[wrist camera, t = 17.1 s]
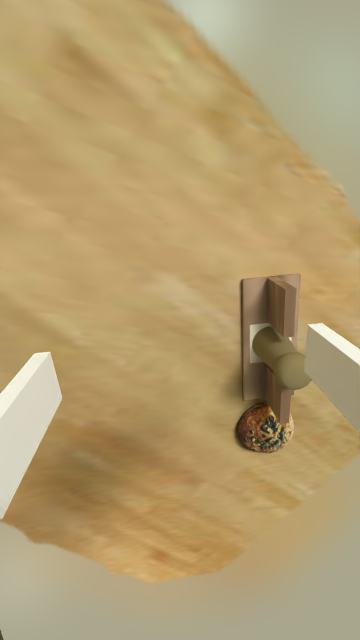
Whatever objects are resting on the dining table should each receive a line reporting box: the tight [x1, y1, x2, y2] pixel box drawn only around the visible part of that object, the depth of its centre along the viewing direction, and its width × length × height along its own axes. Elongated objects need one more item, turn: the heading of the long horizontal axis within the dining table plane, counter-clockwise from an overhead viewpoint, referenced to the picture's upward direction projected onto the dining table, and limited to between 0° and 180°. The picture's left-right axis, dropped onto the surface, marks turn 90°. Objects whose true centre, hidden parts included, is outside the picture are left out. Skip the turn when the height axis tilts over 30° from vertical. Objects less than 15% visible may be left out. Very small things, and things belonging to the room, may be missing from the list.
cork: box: [252, 326, 312, 390], centre depth 45 cm, size 6×6×11 cm
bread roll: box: [237, 403, 294, 453], centre depth 56 cm, size 11×11×5 cm
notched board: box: [242, 274, 301, 424], centre depth 47 cm, size 9×22×8 cm, turn 5°
